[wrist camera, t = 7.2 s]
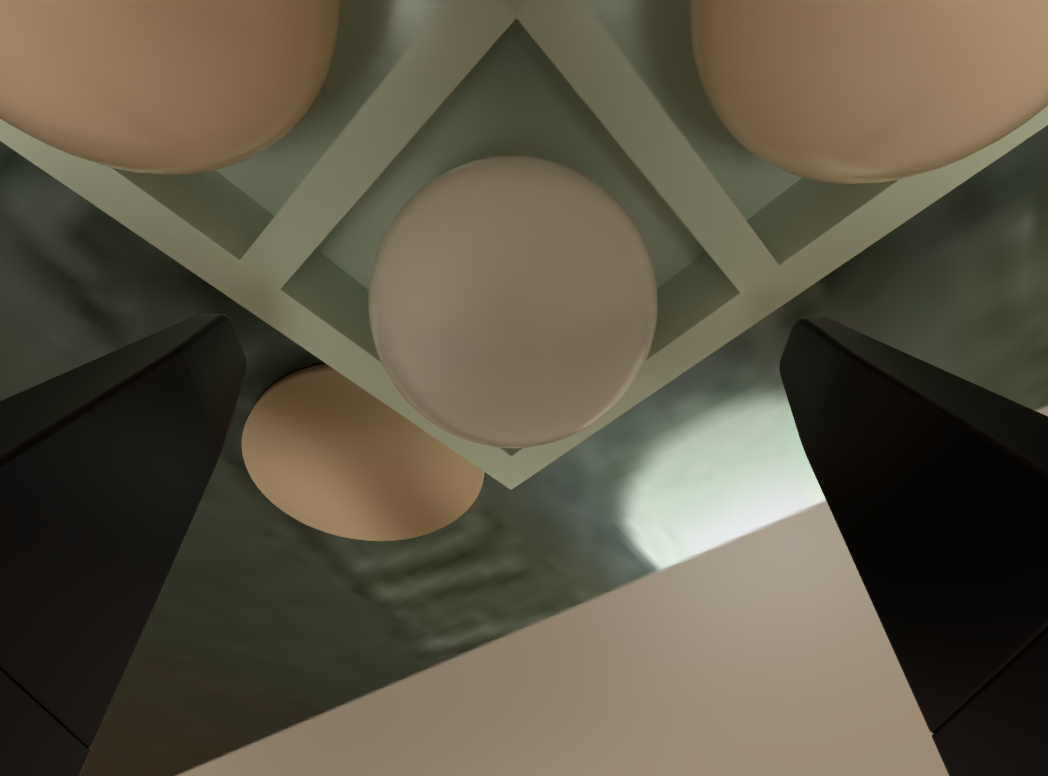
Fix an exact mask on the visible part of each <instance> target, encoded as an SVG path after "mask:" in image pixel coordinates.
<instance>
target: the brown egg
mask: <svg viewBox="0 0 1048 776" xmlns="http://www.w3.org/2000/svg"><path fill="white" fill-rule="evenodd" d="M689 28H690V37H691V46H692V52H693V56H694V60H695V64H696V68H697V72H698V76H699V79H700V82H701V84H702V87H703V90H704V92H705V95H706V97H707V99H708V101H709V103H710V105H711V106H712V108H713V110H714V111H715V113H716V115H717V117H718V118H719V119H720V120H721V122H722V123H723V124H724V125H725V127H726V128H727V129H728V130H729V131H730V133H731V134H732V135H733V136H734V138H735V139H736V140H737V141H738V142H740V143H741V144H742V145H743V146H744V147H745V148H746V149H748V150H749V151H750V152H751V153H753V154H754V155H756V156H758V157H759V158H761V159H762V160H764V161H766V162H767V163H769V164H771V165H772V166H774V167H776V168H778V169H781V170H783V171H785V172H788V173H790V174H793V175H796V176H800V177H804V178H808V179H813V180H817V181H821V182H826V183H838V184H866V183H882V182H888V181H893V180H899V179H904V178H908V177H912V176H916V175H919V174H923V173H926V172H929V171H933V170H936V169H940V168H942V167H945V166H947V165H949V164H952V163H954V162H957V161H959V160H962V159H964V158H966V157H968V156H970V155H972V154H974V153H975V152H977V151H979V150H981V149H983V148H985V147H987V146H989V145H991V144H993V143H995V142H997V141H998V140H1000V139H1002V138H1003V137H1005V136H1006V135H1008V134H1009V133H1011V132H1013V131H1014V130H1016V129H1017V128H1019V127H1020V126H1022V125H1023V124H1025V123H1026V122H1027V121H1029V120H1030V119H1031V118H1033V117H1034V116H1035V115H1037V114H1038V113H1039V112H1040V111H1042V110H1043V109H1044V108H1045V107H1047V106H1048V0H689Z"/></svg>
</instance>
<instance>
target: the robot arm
mask: <svg viewBox="0 0 1048 776" xmlns="http://www.w3.org/2000/svg"><path fill="white" fill-rule="evenodd" d="M245 373H246V359H245V355H244V352H243V349H242V347H241V344H240V341H239V338H238V335H237V332H236V329H235V326H234V323H233V321H232V320H231V318H230V317H229V316H227V315H226V314H199V315H196V316H194V317H191V318H189V319H187V320H185V321H182V322H180V323H178V324H175V325H173V326H171V327H169V328H166V329H164V330H162V331H160V332H157V333H155V334H153V335H150V336H148V337H146V338H144V339H141V340H139V341H137V342H134V343H132V344H130V345H128V346H125V347H123V348H121V349H118V350H116V351H114V352H112V353H109V354H107V355H105V356H102V357H100V358H98V359H96V360H93V361H91V362H89V363H87V364H84V365H82V366H80V367H77V368H75V369H73V370H71V371H68V372H66V373H64V374H61V375H59V376H57V377H55V378H52V379H50V380H48V381H45V382H43V383H41V384H39V385H36V386H34V387H32V388H30V389H27V390H25V391H23V392H20V393H18V394H16V395H14V396H11V397H9V398H7V399H4V400H2V401H0V776H80V774H81V771H82V769H83V767H84V765H85V762H86V760H87V758H88V755H89V753H90V750H89V749H88V748H90V747H92V745H93V743H94V741H95V738H96V736H97V734H98V732H99V729H100V727H101V725H102V723H103V720H104V718H105V716H106V713H107V711H108V709H109V707H110V704H111V702H112V700H113V698H114V695H115V693H116V691H117V689H118V686H119V684H120V682H121V679H122V677H123V675H124V673H125V670H126V668H127V666H128V664H129V661H130V659H131V657H132V654H133V652H134V650H135V648H136V645H137V643H138V641H139V639H140V636H141V634H142V632H143V629H144V627H145V625H146V623H147V620H148V618H149V616H150V614H151V611H152V609H153V607H154V605H155V602H156V600H157V598H158V595H159V593H160V591H161V589H162V586H163V584H164V582H165V580H166V577H167V575H168V573H169V570H170V568H171V566H172V564H173V561H174V559H175V557H176V555H177V552H178V550H179V548H180V546H181V543H182V541H183V539H184V536H185V534H186V532H187V530H188V527H189V525H190V523H191V521H192V518H193V516H194V514H195V511H196V509H197V507H198V505H199V502H200V500H201V498H202V496H203V493H204V491H205V489H206V486H207V484H208V482H209V480H210V477H211V475H212V473H213V471H214V468H215V466H216V464H217V461H218V459H219V457H220V454H221V452H222V449H223V446H224V443H225V440H226V437H227V434H228V430H229V427H230V424H231V420H232V417H233V414H234V410H235V407H236V403H237V400H238V397H239V393H240V390H241V387H242V383H243V380H244V376H245ZM780 375H781V378H782V381H783V385H784V388H785V391H786V394H787V398H788V401H789V404H790V407H791V411H792V414H793V417H794V420H795V424H796V427H797V430H798V433H799V437H800V440H801V442H802V445H803V448H804V451H805V453H806V455H807V458H808V460H809V463H810V465H811V467H812V469H813V472H814V474H815V476H816V478H817V481H818V483H819V485H820V487H821V489H822V492H823V494H824V496H825V498H826V501H827V503H828V505H829V507H830V510H831V512H832V514H833V516H834V518H835V520H836V523H837V525H838V527H839V530H840V532H841V534H842V536H843V538H844V541H845V543H846V545H847V547H848V550H849V552H850V554H851V556H852V558H853V561H854V563H855V565H856V568H857V570H858V572H859V574H860V576H861V579H862V581H863V583H864V585H865V587H866V590H867V592H868V594H869V596H870V599H871V601H872V603H873V605H874V608H875V610H876V612H877V614H878V617H879V619H880V621H881V623H882V626H883V628H884V630H885V632H886V635H887V637H888V639H889V641H890V643H891V646H892V648H893V650H894V652H895V655H896V656H897V659H898V661H899V664H900V666H901V668H902V670H903V672H904V674H905V677H906V679H907V681H908V683H909V686H910V688H911V690H912V693H913V695H914V697H915V699H916V701H917V704H918V706H919V708H920V710H921V713H922V715H923V717H924V719H925V721H926V724H927V726H928V728H929V730H930V732H932V733H933V735H932V738H933V740H934V742H935V745H936V747H937V749H938V751H939V754H940V756H941V758H942V760H943V762H944V765H945V767H946V769H947V772H948V774H949V776H1048V417H1047V416H1045V415H1043V414H1041V413H1039V412H1036V411H1034V410H1032V409H1030V408H1027V407H1025V406H1023V405H1021V404H1018V403H1016V402H1014V401H1012V400H1009V399H1007V398H1005V397H1003V396H1000V395H998V394H996V393H994V392H991V391H989V390H987V389H985V388H982V387H980V386H978V385H976V384H973V383H971V382H969V381H967V380H964V379H962V378H960V377H958V376H955V375H953V374H951V373H949V372H946V371H944V370H942V369H940V368H937V367H935V366H933V365H931V364H928V363H926V362H924V361H922V360H920V359H917V358H915V357H913V356H911V355H908V354H906V353H904V352H902V351H899V350H897V349H895V348H893V347H890V346H888V345H886V344H884V343H881V342H879V341H877V340H875V339H872V338H870V337H868V336H866V335H863V334H861V333H859V332H857V331H854V330H852V329H850V328H848V327H845V326H843V325H841V324H839V323H836V322H834V321H832V320H830V319H827V318H823V317H802V318H799V319H798V320H796V322H795V323H794V325H793V327H792V329H791V332H790V335H789V338H788V340H787V343H786V346H785V349H784V351H783V354H782V357H781V360H780Z"/></svg>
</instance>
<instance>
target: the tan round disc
mask: <svg viewBox="0 0 1048 776" xmlns="http://www.w3.org/2000/svg"><path fill="white" fill-rule="evenodd" d="M241 445H242V454H243V459H244V462H245V465H246V468H247V470H248V472H249V474H250V476H251V478H252V480H253V481H254V483H255V484H256V486H257V487H258V488H259V489H260V491H261V492H262V493H263V494H264V495H265V496H266V497H267V498H268V499H269V500H270V501H271V502H272V503H273V504H274V505H276V506H277V507H278V508H279V509H281V510H282V511H284V512H285V513H286V514H288V515H290V516H291V517H293V518H295V519H296V520H298V521H300V522H302V523H304V524H306V525H308V526H311V527H313V528H315V529H318V530H321V531H324V532H326V533H330V534H333V535H337V536H341V537H346V538H351V539H358V540H367V541H394V540H402V539H410V538H414V537H418V536H422V535H425V534H428V533H431V532H434V531H436V530H439V529H441V528H443V527H445V526H447V525H448V524H450V523H452V522H453V521H455V520H456V519H458V518H459V517H460V516H461V515H463V514H464V513H465V512H466V511H467V510H468V509H469V508H470V507H471V505H472V504H473V502H474V501H475V500H476V498H477V497H478V494H479V492H480V490H481V488H482V484H483V481H484V475H485V472H484V471H483V470H481V469H480V468H478V467H477V466H475V465H474V464H472V463H471V462H469V461H468V460H466V459H465V458H463V457H462V456H461V455H459V454H458V453H456V452H455V451H453V450H452V449H450V448H449V447H447V446H446V445H444V444H443V443H442V442H440V441H439V440H437V439H436V438H434V437H433V436H431V435H430V434H428V433H427V432H425V431H424V430H423V429H421V428H420V427H418V426H417V425H415V424H414V423H412V422H411V421H409V420H408V419H406V418H405V417H404V416H402V415H401V414H399V413H398V412H396V411H395V410H393V409H392V408H390V407H389V406H387V405H386V404H384V403H383V402H382V401H380V400H379V399H377V398H376V397H374V396H373V395H371V394H370V393H368V392H367V391H365V390H364V389H363V388H361V387H360V386H358V385H357V384H355V383H354V382H352V381H351V380H349V379H348V378H346V377H345V376H344V375H342V374H341V373H339V372H338V371H336V370H335V369H333V368H332V367H330V366H329V365H327V364H321V365H315V366H312V367H309V368H305V369H302V370H299V371H297V372H294V373H292V374H290V375H288V376H286V377H284V378H282V379H281V380H279V381H278V382H276V383H274V384H273V385H272V386H271V387H270V388H269V389H268V390H266V391H265V392H264V393H263V395H262V396H261V397H260V398H259V400H258V401H257V402H256V404H255V406H254V407H253V409H252V411H251V413H250V415H249V417H248V419H247V421H246V423H245V426H244V429H243V433H242V444H241Z"/></svg>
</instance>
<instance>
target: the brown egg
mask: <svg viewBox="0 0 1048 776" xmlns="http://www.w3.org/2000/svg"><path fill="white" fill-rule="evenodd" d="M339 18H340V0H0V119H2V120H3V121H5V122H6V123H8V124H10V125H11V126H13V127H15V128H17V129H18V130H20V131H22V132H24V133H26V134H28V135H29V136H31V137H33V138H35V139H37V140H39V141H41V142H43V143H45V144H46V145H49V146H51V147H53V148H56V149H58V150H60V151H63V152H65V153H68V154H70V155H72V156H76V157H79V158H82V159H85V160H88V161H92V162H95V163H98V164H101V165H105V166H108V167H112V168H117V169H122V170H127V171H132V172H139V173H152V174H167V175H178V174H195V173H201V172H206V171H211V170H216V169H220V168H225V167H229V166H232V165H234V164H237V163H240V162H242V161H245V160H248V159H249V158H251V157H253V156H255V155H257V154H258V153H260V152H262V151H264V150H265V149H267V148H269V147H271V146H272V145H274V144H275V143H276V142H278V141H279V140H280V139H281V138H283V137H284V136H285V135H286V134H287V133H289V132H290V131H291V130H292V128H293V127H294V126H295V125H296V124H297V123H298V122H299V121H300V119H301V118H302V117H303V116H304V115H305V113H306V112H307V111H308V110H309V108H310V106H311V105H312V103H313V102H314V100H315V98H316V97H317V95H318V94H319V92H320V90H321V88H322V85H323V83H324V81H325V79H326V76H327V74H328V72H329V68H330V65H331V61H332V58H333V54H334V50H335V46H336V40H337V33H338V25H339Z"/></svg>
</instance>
